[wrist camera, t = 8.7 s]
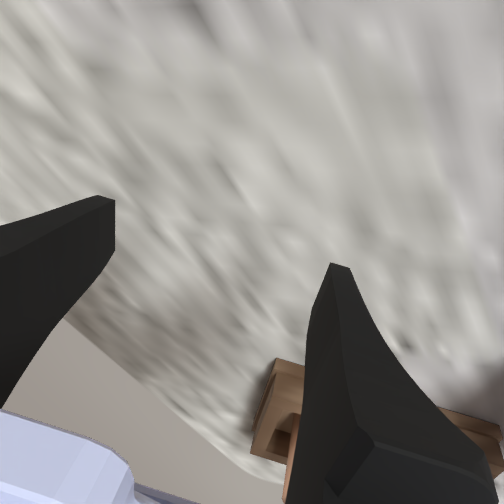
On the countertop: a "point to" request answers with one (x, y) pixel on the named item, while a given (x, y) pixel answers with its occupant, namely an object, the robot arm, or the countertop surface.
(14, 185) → the countertop surface
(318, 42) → the countertop surface
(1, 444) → the robot arm
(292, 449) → the clay rod
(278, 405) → the rack
